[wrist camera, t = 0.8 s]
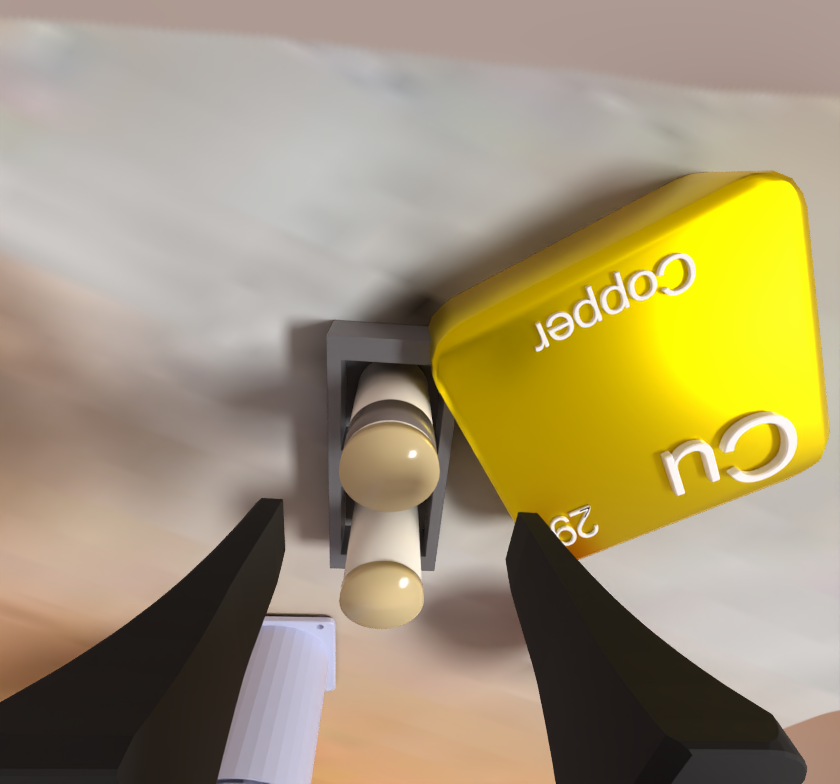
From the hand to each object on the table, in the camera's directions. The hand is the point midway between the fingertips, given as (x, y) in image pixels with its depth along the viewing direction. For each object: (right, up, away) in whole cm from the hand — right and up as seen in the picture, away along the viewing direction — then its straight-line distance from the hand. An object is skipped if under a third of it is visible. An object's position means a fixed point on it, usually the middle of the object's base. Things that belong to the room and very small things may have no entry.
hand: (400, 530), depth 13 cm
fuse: (-1, -2, +12) cm, 12 cm away
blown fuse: (-1, +4, +9) cm, 10 cm away
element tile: (+10, +5, +10) cm, 15 cm away
